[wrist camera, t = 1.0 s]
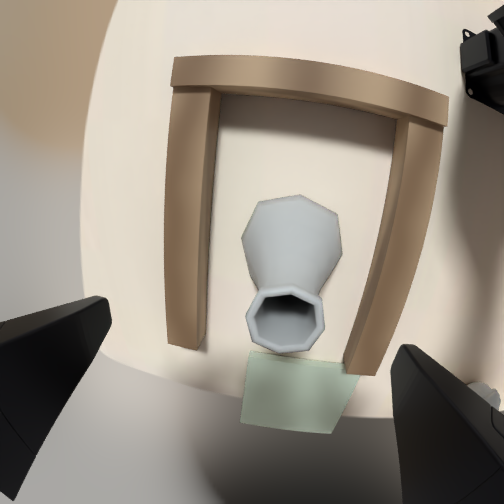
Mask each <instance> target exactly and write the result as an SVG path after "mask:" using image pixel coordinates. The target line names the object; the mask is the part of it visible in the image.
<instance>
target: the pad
mask: <svg viewBox="0 0 504 504" xmlns="http://www.w3.org/2000/svg"><path fill="white" fill-rule="evenodd" d="M359 378H360V375H352V374H346V368H345V364H344V363H334V362H325V361H316V360H308V359H300V358H293V357H286V356H279V355H272V354H266V353H260V352H254V351H250V353H249V358H248V365H247V373H246V380H245V388H244V395H243V402H242V410H241V417H240V423H245V424H250V425H256V426H262V427H269V428H277V429H284V430H292V431H301V432H313V433H328V434H331V433H332V431H333V430H334V428H335V426H336V424H337V422H338V420H339V418H340V417H341V415H342V413H343V411H344V409H345V407H346V405H347V403H348V401H349V399H350V397H351V395H352V393H353V390H354V388H355V386H356V384H357V382H358V380H359Z"/></svg>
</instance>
